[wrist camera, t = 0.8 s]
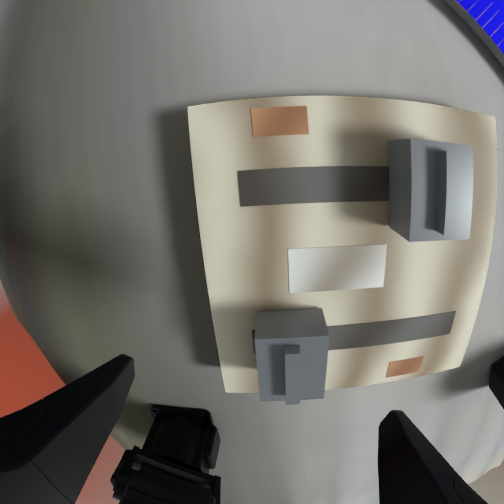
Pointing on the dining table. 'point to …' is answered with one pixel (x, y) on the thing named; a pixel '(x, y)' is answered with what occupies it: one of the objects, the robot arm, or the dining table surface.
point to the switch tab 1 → (291, 354)
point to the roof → (484, 21)
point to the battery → (498, 381)
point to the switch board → (335, 232)
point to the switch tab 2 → (430, 189)
